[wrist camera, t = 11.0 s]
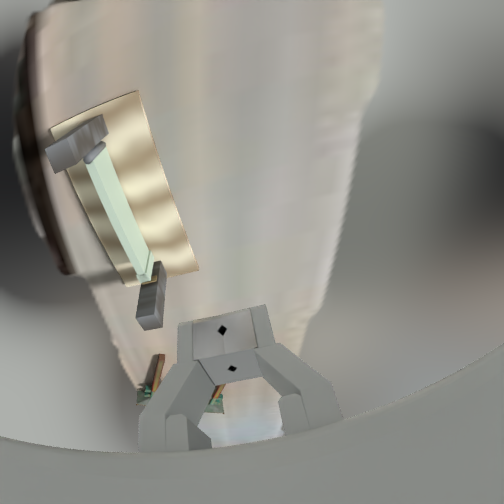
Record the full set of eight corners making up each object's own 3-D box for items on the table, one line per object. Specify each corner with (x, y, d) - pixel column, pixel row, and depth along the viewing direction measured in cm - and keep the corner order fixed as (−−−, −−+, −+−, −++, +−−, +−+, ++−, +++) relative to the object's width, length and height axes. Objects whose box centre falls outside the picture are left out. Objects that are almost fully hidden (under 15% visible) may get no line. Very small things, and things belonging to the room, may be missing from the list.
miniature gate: (250, 374, 71) (218, 422, 85) (246, 357, 76) (216, 408, 89) (142, 361, 62) (135, 414, 76) (144, 343, 67) (135, 399, 80)
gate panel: (94, 143, 35) (80, 156, 30) (105, 138, 35) (92, 151, 30) (144, 260, 48) (140, 283, 43) (154, 257, 48) (150, 280, 43)
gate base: (53, 126, 33) (6, 158, 22) (138, 90, 33) (110, 105, 22) (127, 283, 52) (116, 339, 42) (198, 266, 52) (200, 324, 42)
